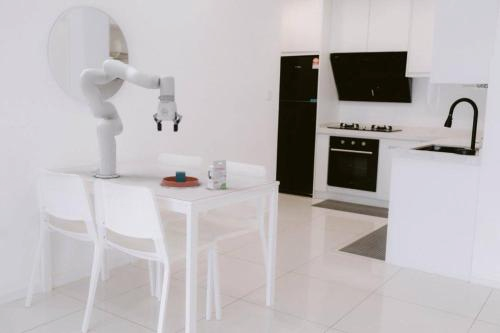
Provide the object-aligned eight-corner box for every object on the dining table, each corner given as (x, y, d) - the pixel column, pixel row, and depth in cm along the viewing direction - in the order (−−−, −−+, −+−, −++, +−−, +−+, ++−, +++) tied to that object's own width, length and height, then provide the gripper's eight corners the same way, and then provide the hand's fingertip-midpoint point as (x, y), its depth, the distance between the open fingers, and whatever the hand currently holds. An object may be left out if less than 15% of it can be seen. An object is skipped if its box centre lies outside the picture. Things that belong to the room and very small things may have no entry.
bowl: (161, 188, 235) (161, 182, 234) (162, 181, 254) (162, 175, 253) (199, 188, 238) (200, 182, 238) (197, 181, 257) (198, 176, 256)
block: (175, 184, 243) (175, 173, 242) (175, 182, 248) (175, 171, 247) (185, 184, 244) (185, 173, 243) (185, 182, 249) (185, 171, 248)
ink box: (220, 186, 244) (221, 158, 241) (226, 188, 240) (227, 159, 238) (206, 188, 238) (207, 159, 236) (212, 190, 234) (213, 160, 232)
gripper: (149, 98, 248) (149, 131, 251) (178, 99, 242) (178, 132, 245) (156, 98, 255) (157, 130, 258) (185, 99, 249) (185, 131, 252)
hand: (167, 131), depth 251 cm, fingers open, 9 cm apart
